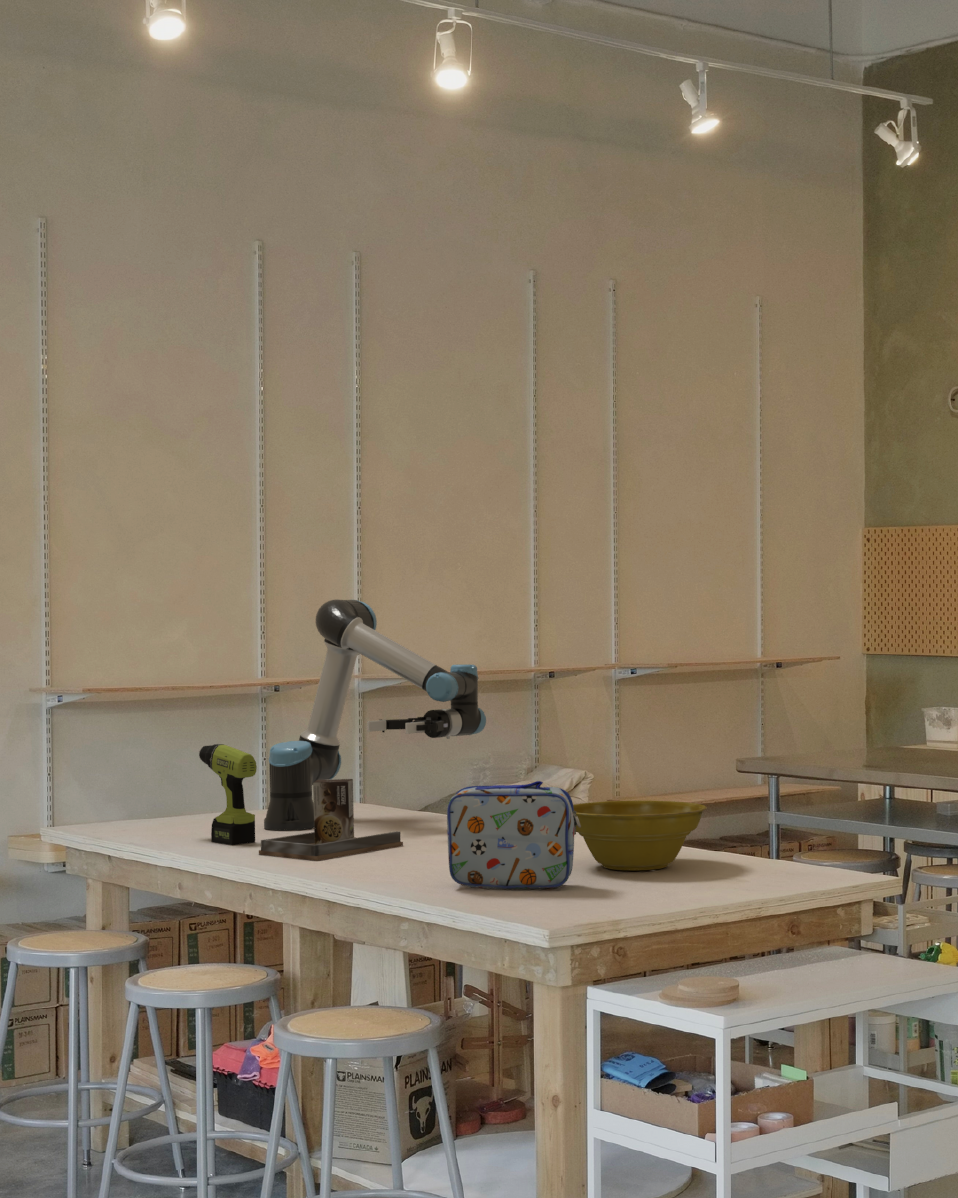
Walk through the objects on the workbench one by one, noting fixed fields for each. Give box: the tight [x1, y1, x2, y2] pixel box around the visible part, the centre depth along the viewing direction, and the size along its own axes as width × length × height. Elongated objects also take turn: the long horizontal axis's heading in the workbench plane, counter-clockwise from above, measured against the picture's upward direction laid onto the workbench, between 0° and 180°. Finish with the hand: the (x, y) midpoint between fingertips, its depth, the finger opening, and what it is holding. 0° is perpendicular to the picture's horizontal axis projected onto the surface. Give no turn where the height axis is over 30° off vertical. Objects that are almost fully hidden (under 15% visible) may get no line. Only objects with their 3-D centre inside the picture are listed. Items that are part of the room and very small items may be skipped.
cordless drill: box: [198, 743, 258, 846], centre depth 397 cm, size 23×7×25 cm, turn 42°
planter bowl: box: [573, 800, 708, 872], centre depth 339 cm, size 32×32×13 cm
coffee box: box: [312, 778, 355, 845], centre depth 376 cm, size 9×6×16 cm
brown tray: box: [258, 831, 404, 862], centre depth 375 cm, size 20×30×4 cm, turn 141°
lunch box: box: [446, 780, 581, 890], centre depth 314 cm, size 28×10×22 cm, turn 81°
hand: (386, 727), depth 394 cm, fingers open, 13 cm apart
